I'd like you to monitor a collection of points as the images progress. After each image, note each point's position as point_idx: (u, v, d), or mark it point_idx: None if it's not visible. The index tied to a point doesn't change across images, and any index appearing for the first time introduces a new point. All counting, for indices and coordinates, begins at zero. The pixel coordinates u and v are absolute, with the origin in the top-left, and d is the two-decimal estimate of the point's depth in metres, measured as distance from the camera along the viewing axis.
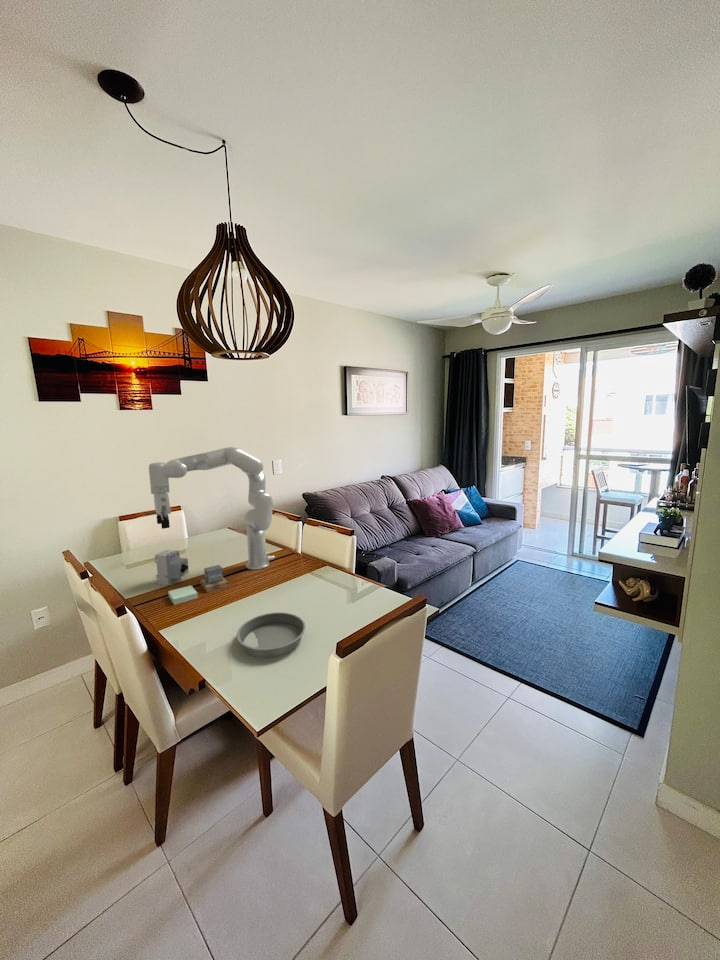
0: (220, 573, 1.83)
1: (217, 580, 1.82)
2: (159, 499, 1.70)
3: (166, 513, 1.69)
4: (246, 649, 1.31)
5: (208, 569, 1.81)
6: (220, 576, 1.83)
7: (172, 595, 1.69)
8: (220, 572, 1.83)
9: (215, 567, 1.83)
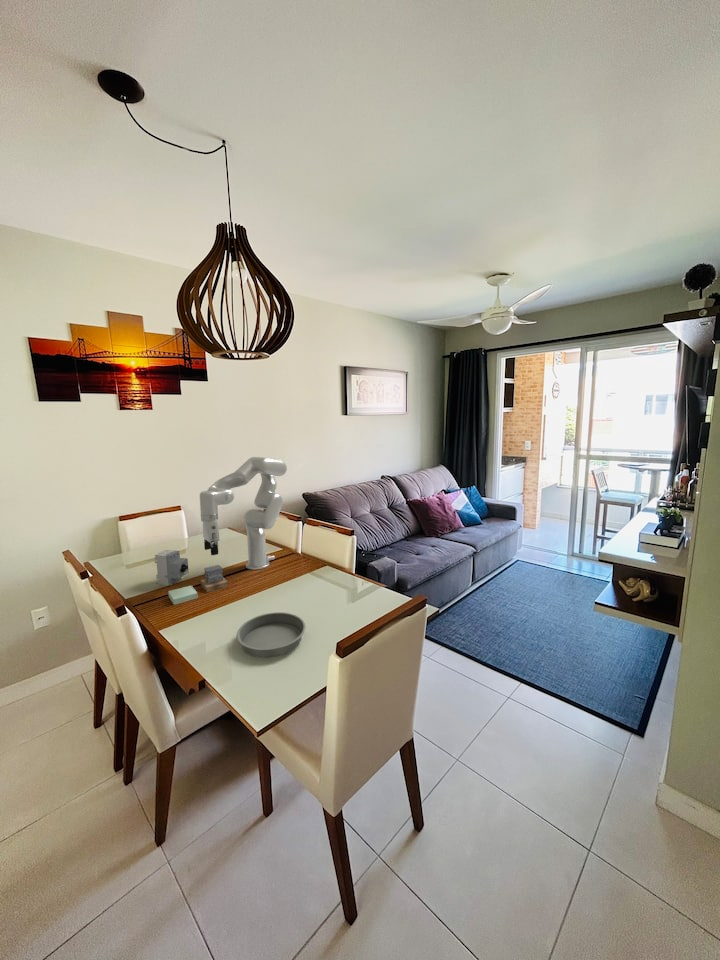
0: (220, 573, 1.83)
1: (217, 580, 1.82)
2: (209, 527, 1.74)
3: (216, 541, 1.73)
4: (246, 649, 1.31)
5: (208, 569, 1.81)
6: (220, 576, 1.83)
7: (172, 595, 1.69)
8: (220, 572, 1.83)
9: (215, 567, 1.83)
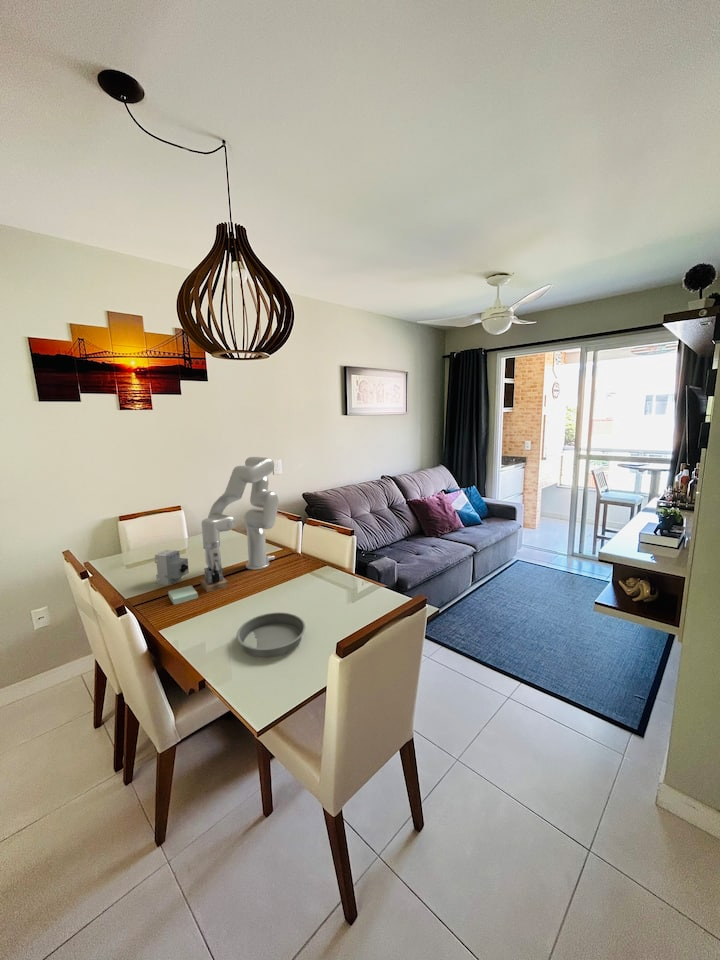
0: (220, 573, 1.83)
1: None
2: (212, 554, 1.77)
3: (218, 571, 1.77)
4: (246, 649, 1.31)
5: (208, 569, 1.81)
6: (220, 576, 1.83)
7: (172, 595, 1.69)
8: (220, 572, 1.83)
9: None
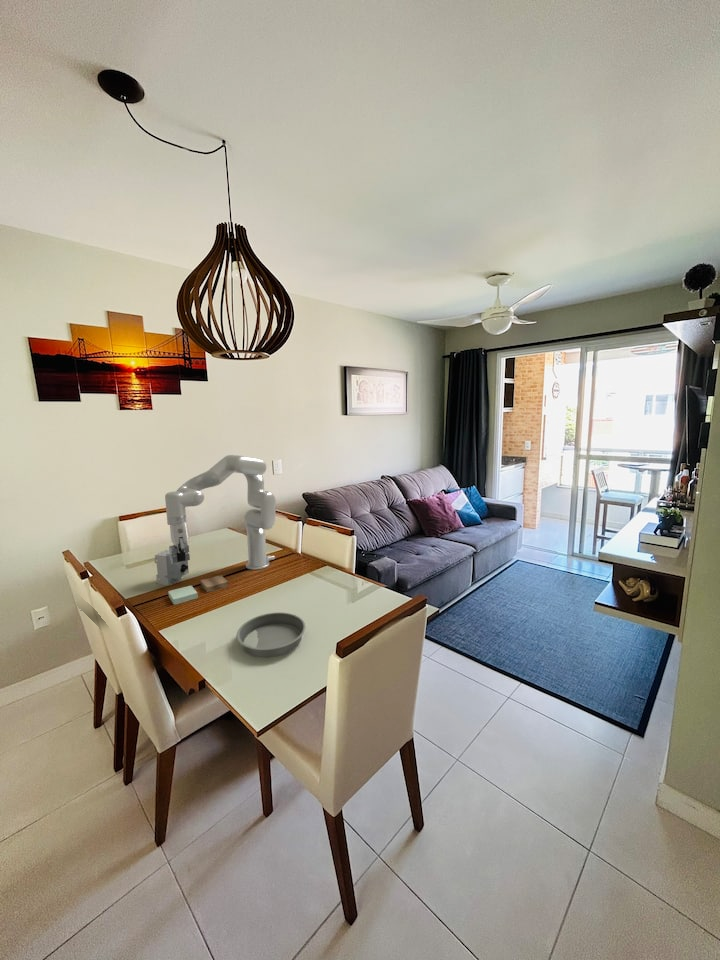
0: (186, 551, 1.69)
1: None
2: (176, 530, 1.63)
3: (183, 548, 1.63)
4: (246, 649, 1.31)
5: (173, 547, 1.67)
6: (186, 555, 1.69)
7: (172, 595, 1.69)
8: (186, 550, 1.68)
9: None
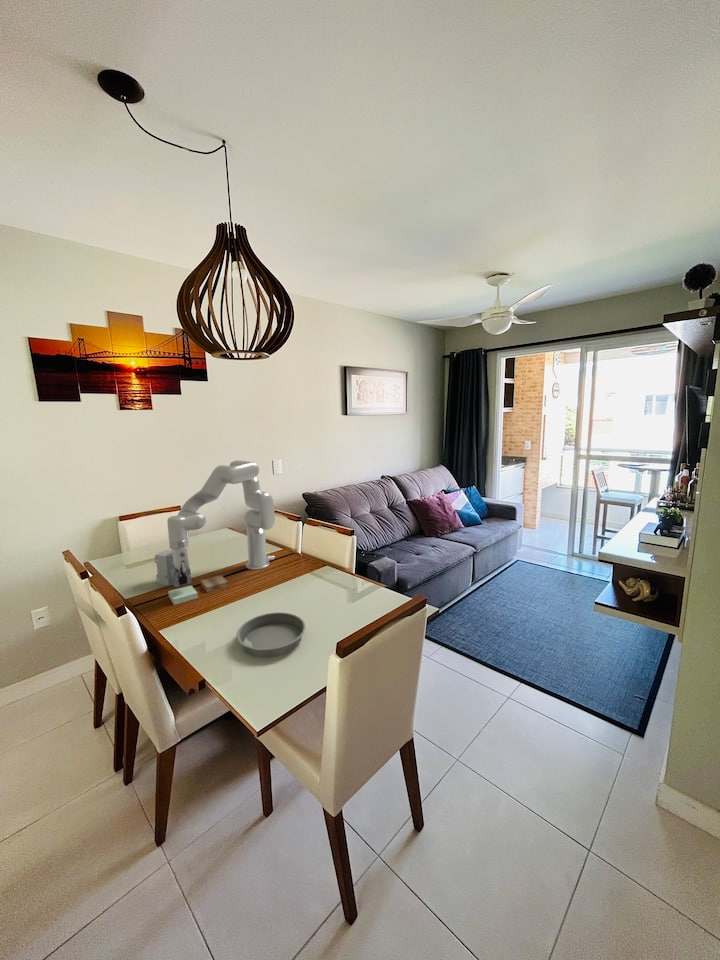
0: (188, 574, 1.70)
1: None
2: (178, 554, 1.65)
3: (185, 572, 1.65)
4: (246, 649, 1.31)
5: (175, 570, 1.69)
6: (188, 578, 1.71)
7: (172, 595, 1.69)
8: (188, 573, 1.70)
9: None
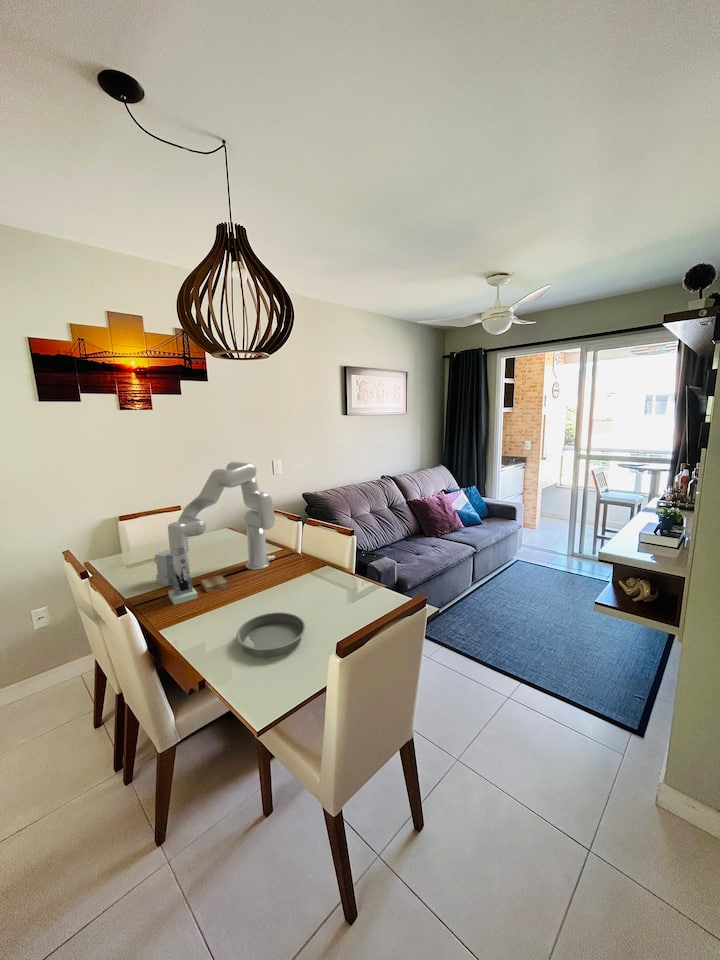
0: (189, 583, 1.71)
1: (186, 591, 1.71)
2: (179, 561, 1.65)
3: (186, 577, 1.65)
4: (246, 649, 1.31)
5: (176, 579, 1.70)
6: (189, 587, 1.71)
7: (172, 595, 1.69)
8: (189, 582, 1.71)
9: None
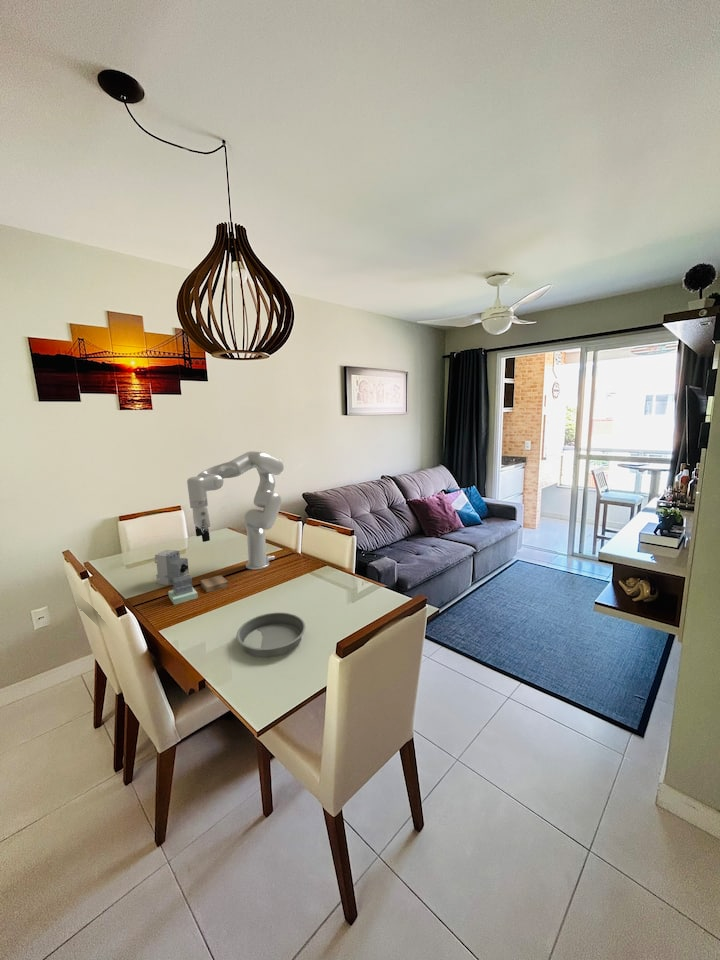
0: (189, 583, 1.71)
1: (186, 591, 1.71)
2: (199, 513, 1.72)
3: (207, 527, 1.71)
4: (246, 649, 1.31)
5: (176, 579, 1.70)
6: (189, 587, 1.71)
7: (172, 595, 1.69)
8: (189, 582, 1.71)
9: (184, 577, 1.72)
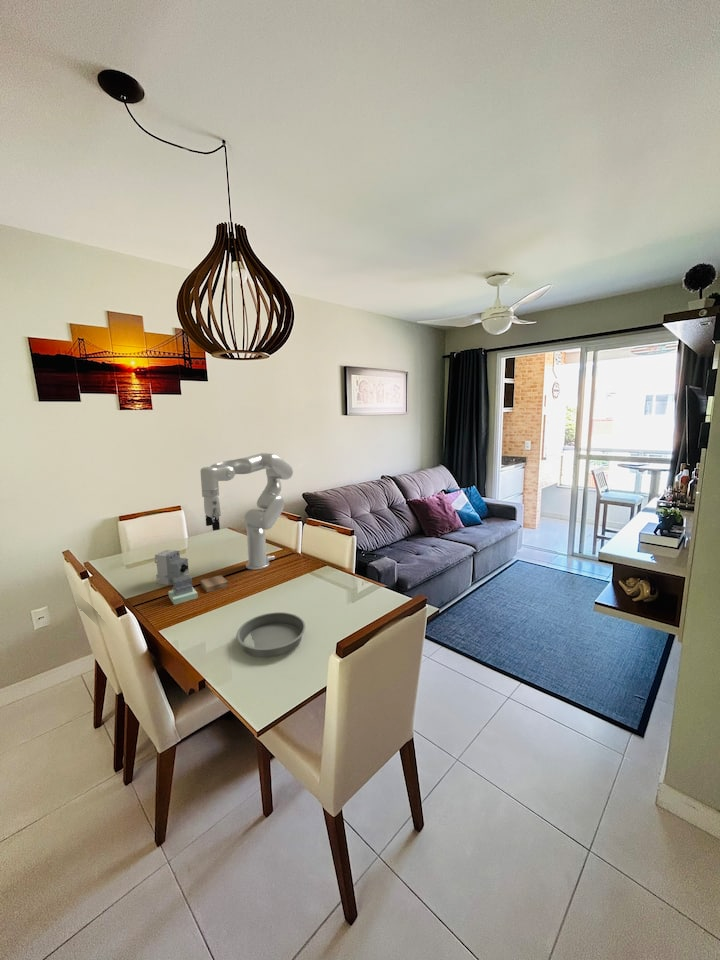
0: (189, 583, 1.71)
1: (186, 591, 1.71)
2: (210, 502, 1.76)
3: (218, 515, 1.75)
4: (246, 649, 1.31)
5: (176, 579, 1.70)
6: (189, 587, 1.71)
7: (172, 595, 1.69)
8: (189, 582, 1.71)
9: (184, 577, 1.72)
